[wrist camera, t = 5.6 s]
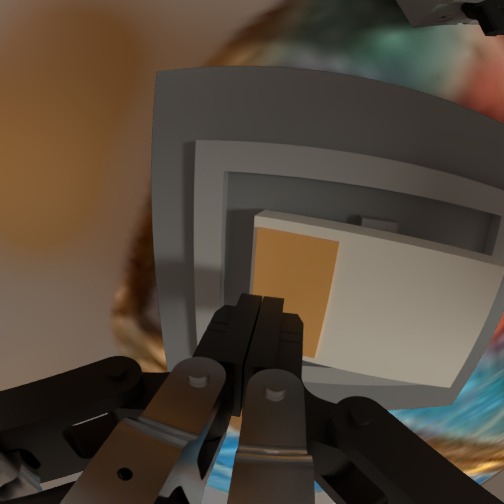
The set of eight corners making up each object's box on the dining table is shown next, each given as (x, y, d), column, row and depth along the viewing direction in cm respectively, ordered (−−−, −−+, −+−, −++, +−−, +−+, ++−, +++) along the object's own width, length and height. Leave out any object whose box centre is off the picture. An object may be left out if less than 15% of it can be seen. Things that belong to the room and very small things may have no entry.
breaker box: (487, 139, 13) (551, 146, 7) (429, 355, 20) (454, 412, 14) (199, 91, 16) (148, 68, 10) (197, 333, 22) (165, 393, 16)
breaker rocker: (495, 256, 8) (507, 269, 7) (446, 371, 11) (450, 389, 9) (265, 209, 12) (253, 216, 10) (255, 330, 14) (244, 346, 13)
